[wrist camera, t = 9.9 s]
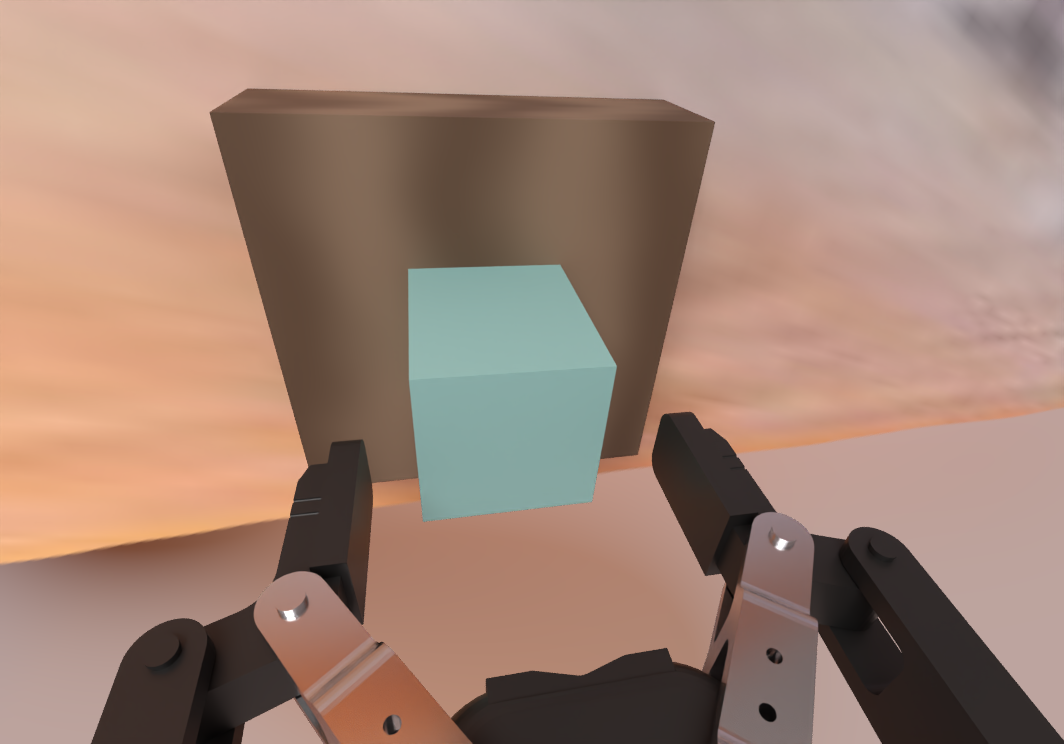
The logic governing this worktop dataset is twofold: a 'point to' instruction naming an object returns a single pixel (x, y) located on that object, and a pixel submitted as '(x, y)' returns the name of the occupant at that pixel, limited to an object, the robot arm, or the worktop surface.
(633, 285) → the stacking base
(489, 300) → the teal block
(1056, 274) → the worktop surface
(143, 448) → the worktop surface
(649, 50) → the worktop surface
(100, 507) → the worktop surface
